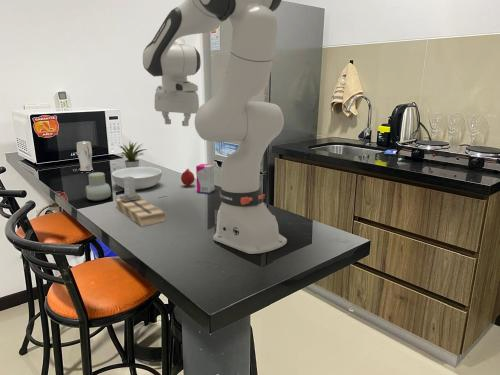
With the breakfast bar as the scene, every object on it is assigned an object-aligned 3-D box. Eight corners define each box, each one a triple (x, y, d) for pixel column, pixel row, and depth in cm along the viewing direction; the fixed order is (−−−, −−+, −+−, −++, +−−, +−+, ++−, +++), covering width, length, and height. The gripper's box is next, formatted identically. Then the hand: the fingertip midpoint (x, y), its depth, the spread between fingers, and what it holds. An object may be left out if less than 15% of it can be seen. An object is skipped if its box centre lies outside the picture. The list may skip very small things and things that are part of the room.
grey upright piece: (140, 198, 137) (139, 177, 135) (124, 201, 134) (122, 179, 132) (136, 196, 140) (134, 175, 138) (120, 199, 137) (118, 177, 135)
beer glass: (80, 170, 197) (76, 141, 193) (94, 169, 199) (91, 140, 195) (78, 173, 191) (75, 143, 187) (93, 172, 193) (90, 142, 189)
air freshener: (112, 200, 146) (110, 175, 144) (89, 203, 142) (86, 178, 140) (107, 193, 155) (105, 170, 153) (85, 196, 152) (83, 172, 149)
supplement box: (215, 190, 161) (214, 164, 158) (209, 194, 156) (208, 166, 153) (202, 189, 163) (201, 163, 160) (196, 192, 157) (195, 165, 154)
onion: (192, 188, 164) (191, 170, 162) (179, 187, 165) (178, 169, 163) (196, 185, 170) (195, 167, 167) (184, 184, 171) (183, 166, 169)
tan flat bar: (165, 221, 125) (164, 212, 124) (141, 226, 120) (141, 217, 119) (137, 203, 143) (137, 195, 142) (116, 207, 139) (115, 199, 138)
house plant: (130, 177, 182) (128, 144, 177) (110, 174, 188) (107, 141, 184) (152, 172, 194) (150, 140, 189) (132, 169, 200) (130, 138, 196)
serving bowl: (106, 193, 156) (104, 177, 154) (121, 181, 176) (120, 166, 174) (157, 193, 156) (156, 177, 155) (166, 181, 177) (165, 166, 175)
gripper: (149, 85, 138) (151, 123, 142) (187, 86, 126) (189, 127, 130) (162, 85, 143) (164, 122, 147) (201, 86, 131) (202, 126, 135)
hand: (176, 125), depth 138 cm, fingers open, 8 cm apart
